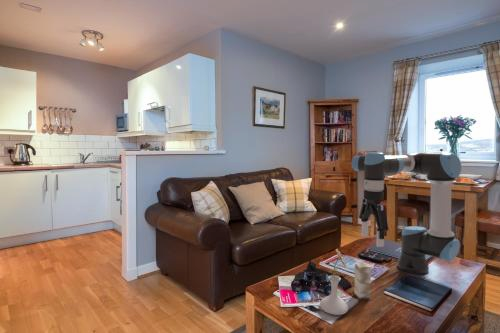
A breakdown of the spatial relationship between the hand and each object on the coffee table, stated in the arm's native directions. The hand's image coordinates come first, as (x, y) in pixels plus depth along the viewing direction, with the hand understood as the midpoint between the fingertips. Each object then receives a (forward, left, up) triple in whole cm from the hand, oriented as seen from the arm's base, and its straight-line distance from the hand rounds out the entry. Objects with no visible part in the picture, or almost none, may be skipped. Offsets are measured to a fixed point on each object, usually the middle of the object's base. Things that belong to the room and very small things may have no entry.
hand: (372, 241), depth 120 cm
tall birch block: (0, -8, -28) cm, 29 cm away
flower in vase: (+16, 0, -29) cm, 33 cm away
